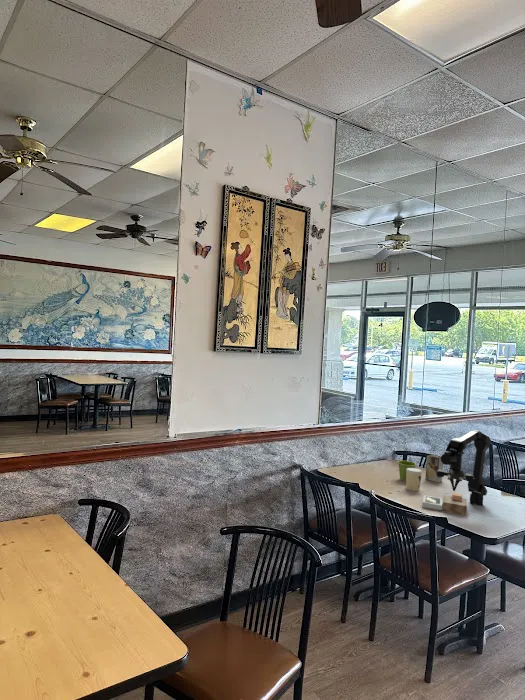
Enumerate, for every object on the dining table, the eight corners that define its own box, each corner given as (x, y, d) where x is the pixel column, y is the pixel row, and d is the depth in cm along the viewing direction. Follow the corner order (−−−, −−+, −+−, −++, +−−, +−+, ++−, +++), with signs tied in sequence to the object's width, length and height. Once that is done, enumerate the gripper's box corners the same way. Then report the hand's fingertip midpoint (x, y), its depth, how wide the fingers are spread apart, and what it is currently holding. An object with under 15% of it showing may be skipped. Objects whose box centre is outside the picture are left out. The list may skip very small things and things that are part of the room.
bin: (442, 503, 278) (442, 498, 278) (441, 511, 265) (441, 505, 264) (423, 500, 281) (424, 495, 281) (422, 507, 268) (422, 502, 268)
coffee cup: (421, 492, 297) (423, 472, 297) (405, 490, 299) (407, 470, 299) (419, 487, 306) (421, 468, 306) (404, 485, 308) (405, 466, 308)
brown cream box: (465, 507, 273) (466, 498, 273) (466, 515, 260) (467, 506, 260) (442, 503, 277) (443, 495, 277) (442, 511, 264) (443, 502, 264)
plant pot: (392, 478, 323) (394, 461, 323) (402, 476, 331) (404, 459, 331) (408, 483, 314) (409, 466, 314) (418, 480, 322) (419, 463, 322)
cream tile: (427, 496, 274) (425, 500, 274) (426, 499, 269) (424, 503, 270) (436, 500, 272) (434, 504, 273) (435, 503, 268) (433, 507, 268)
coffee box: (442, 481, 325) (444, 457, 325) (437, 482, 321) (439, 458, 321) (429, 477, 332) (431, 454, 332) (424, 479, 328) (426, 455, 327)
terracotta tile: (461, 498, 273) (462, 494, 273) (461, 501, 268) (462, 496, 268) (452, 496, 275) (452, 492, 275) (452, 499, 270) (452, 494, 270)
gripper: (437, 463, 263) (435, 492, 264) (474, 468, 256) (472, 498, 257) (438, 458, 273) (436, 486, 274) (474, 463, 266) (472, 492, 267)
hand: (453, 490), depth 268 cm, fingers closed
